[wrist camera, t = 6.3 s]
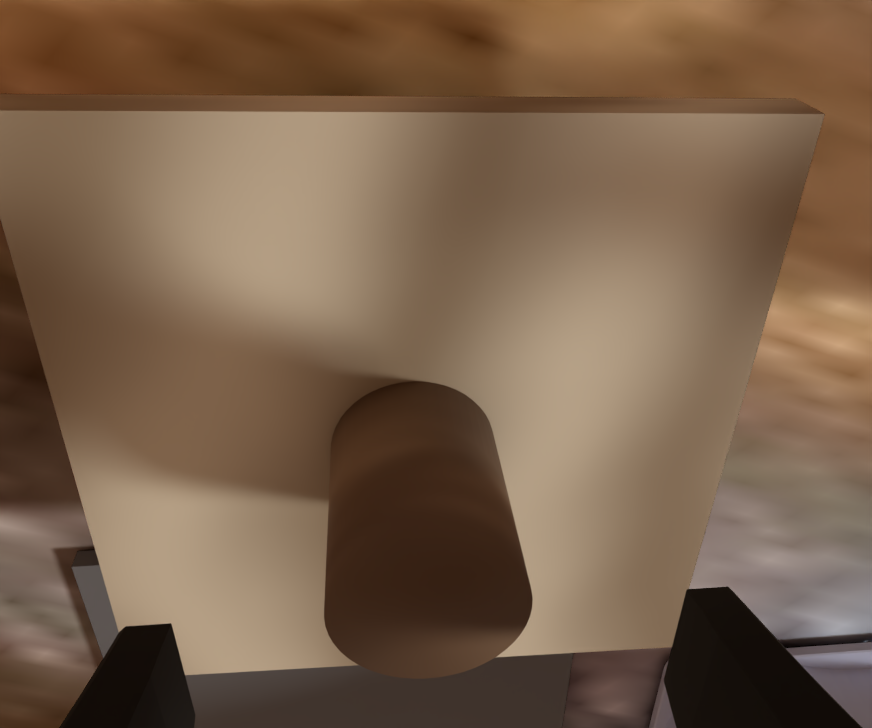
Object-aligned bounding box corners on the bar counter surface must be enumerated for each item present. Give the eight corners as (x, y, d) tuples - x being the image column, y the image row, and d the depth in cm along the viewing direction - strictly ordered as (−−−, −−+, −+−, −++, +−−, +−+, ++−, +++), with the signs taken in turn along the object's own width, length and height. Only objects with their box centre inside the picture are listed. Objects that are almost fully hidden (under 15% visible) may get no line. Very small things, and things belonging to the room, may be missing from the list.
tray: (585, 520, 24) (591, 534, 23) (546, 793, 32) (550, 807, 31) (77, 551, 23) (71, 566, 22) (170, 825, 31) (167, 841, 30)
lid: (795, 98, 13) (999, 203, 9) (658, 614, 20) (738, 810, 16) (-5, 93, 12) (-196, 212, 8) (141, 642, 19) (80, 861, 15)
